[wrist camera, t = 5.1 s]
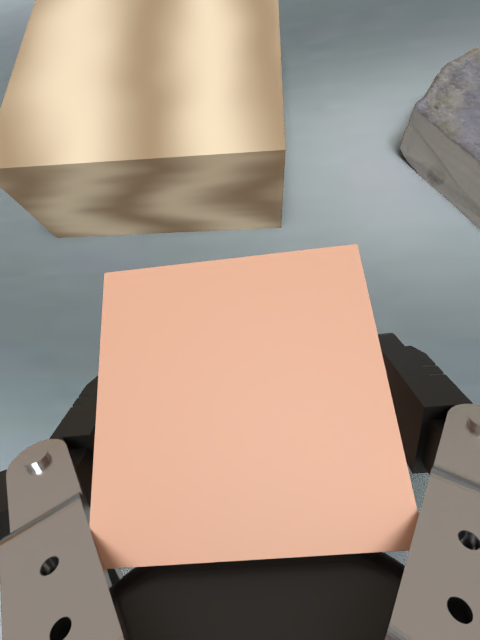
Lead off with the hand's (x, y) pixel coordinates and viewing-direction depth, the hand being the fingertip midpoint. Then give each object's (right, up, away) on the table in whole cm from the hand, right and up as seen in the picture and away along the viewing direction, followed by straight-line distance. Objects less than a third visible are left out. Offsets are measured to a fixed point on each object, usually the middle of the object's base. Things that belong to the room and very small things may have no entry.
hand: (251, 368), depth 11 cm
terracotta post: (0, -3, +5) cm, 6 cm away
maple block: (-5, +14, +11) cm, 18 cm away
